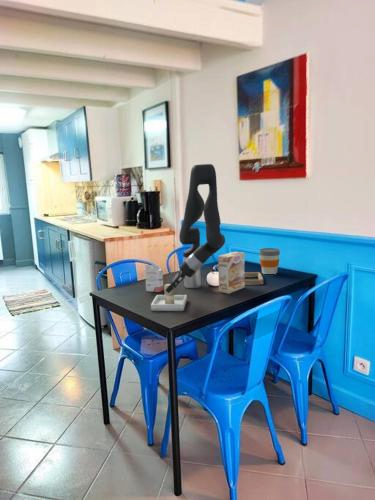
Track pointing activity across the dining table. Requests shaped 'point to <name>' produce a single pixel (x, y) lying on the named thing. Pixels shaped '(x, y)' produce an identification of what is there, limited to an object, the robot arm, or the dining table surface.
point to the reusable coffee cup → (269, 260)
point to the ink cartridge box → (153, 278)
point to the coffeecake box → (231, 272)
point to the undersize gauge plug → (169, 295)
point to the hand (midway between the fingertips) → (168, 289)
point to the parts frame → (253, 282)
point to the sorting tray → (160, 304)
